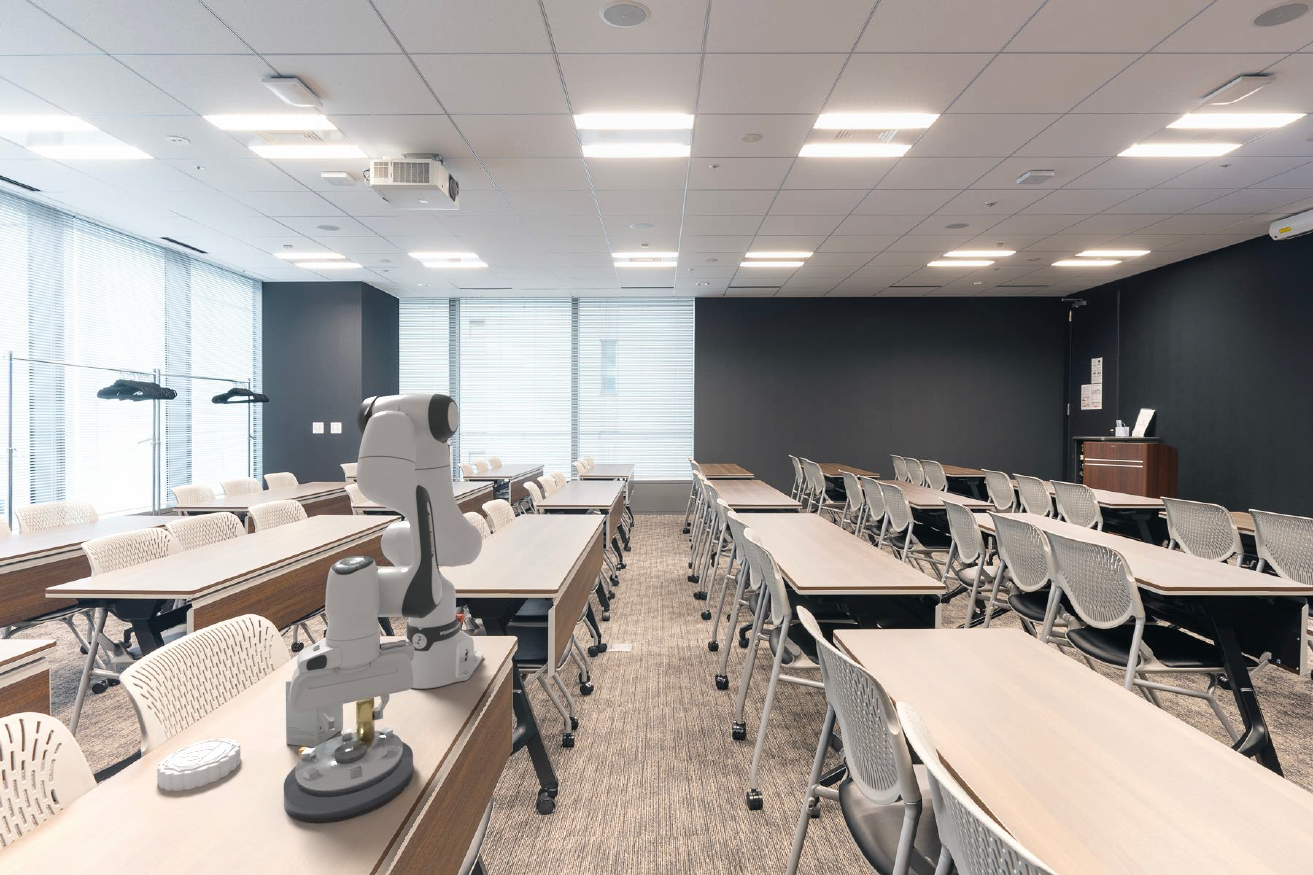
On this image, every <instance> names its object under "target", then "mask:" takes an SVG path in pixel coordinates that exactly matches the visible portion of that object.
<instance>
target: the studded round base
mask: <svg viewBox="0 0 1313 875" xmlns="http://www.w3.org/2000/svg"><path fill="white" fill-rule="evenodd" d="M355 704H356V706H355V708H356V712H355V713H356V714H355V716H356V717H355V718H356V722H355V723H356V731H355V732H353V731H352V728H349V729H344V730H343V729H342V730H341V731H340V735H339V736H337V737H333V738H331V739H330V738H329V739H328V740H326V741H325V742H323V743H321V744H319V745H318V746H316V747H311V748H309V749H305V750H304V751H303V752H302V753H301V759H300V760H299V759H298V761H297V763H296V765H295V766H296V770H295V775H296V786H297V787H298V789H299V790H300V791H302V792H304V793H306V794H309V795H313V796H337V795H343V794H348V793H352V792H356V791H359V790H362V789H365V788H367V787H370V786H372V785H374V784H376V783H378V782H380V781H382V780H383V779H385V778H386V777H388V776H389V775H391V774H392V773H393V772H394V771H395V770H396V769H397V768H398V767H399V765H400V764H401V762H402V758H403V744H402V742H403V741H402V739H401V738H400V737H399V735H397V734H395V733H394V729H393V728H389V727H385V728H383V729H382V730H375V729H376V726H375V724H376V723H375V721H376V720H374V708H375V697H374V698H369V699H364V700H360V701H355Z"/></svg>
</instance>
